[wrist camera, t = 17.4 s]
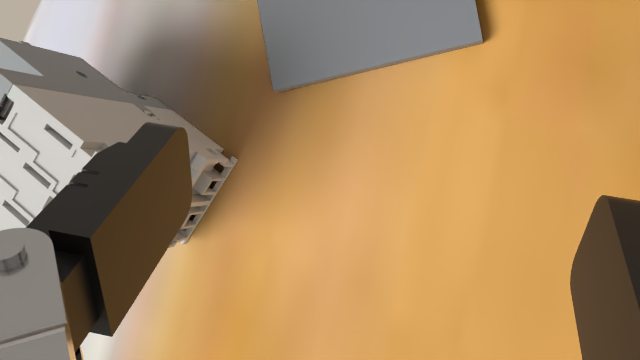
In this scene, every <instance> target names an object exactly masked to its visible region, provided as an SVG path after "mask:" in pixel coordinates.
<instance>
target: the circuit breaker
mask: <svg viewBox="0 0 640 360" xmlns="http://www.w3.org/2000/svg"><path fill="white" fill-rule="evenodd" d="M146 122H152V123H158V124H165V125H171V126H177V127H183V128H184V129H185V130H186V132H187V135H188V144H189V155H190V167H191V178H192V202H191V207H190V210H189V213H188V216H187V218H186V220H185V221H184V223H183V225H182V226H181V228H180V229H179V231H178V232H177V234H176V236H175V237H174V239H173V240H172V242H171V244H170V245H169V247H168V248H170V247H174V246H175V244H176V243H177V242H180V243H182V244H186V242H187V240H188V239H189V237H190V236H191V234H192V232H193V231H194V229H195V228H196V226H197V225H198V223H199V221H200V220H201V218H202V217H203V215H204V213H205V212H206V210H207V209H208V207H209V205H210V204H211V202H212V201H213V199H214V197H215V196H216V194H217V193H218V191H219V190H220V188H221V186H222V185H223V183H224V182H225V180H226V178H227V177H228V175H229V174H230V172H231V170H232V169H233V167H234V166H235V164H236V162H237V161H238V160H237V159H236V158H235V157H231V158H230V160H229V159H228V158H226V157H225V156H224V155H222V152H223V150H224V149H223V148H222V147H220V146H219V145H218V144H216V143H215V142H214V141H212V140H211V139H210V138H208V137H207V136H206V135H204V134H203V133H202V132H200V131H199V130H198V129H196V128H195V127H194V126H193V125H191V124H190V123H189V122H187V121H186V120H185V119H183V118H182V117H181V116H179V115H178V114H177V113H175V112H174V111H173V110H171V109H170V108H169V107H167V106H166V105H165V104H163V103H162V102H161V101H159V100H158V99H157V98H155V97H150V96H144V95H140V97H139V98H138V97H137V96H136V94H134V93H129V92H125V91H123V90H122V89H121V88H120V87H118V86H117V85H116V84H114V83H113V82H112V81H110V80H109V79H108V78H106V77H105V76H104V75H103V74H101V73H100V72H99V71H97V70H96V69H95V68H93V67H92V66H91V65H89V64H88V63H87V62H85V61H84V60H83V59H81V58H79V57H75V56H71V55H67V54H63V53H59V52H55V51H51V50H47V49H43V48H39V47H35V46H32V45H30V44H29V43H27V42H23V41H19V42H15V41H11V40H7V39H3V38H0V231H2V230H6V229H12V228H26V227H27V226H28V225H29V224H30V223H31V222H32V220H33V219H34V218H35V217H36V216H37V215H38V214H39V213H40V212H41V211H42V210H43V209H44V208H45V207H46V206H47V205H48V204H49V203H50V202H51V201H52V200H53V198H54V197H55V196H56V195H57V194H58V193H59V192H60V191H61V190H62V189H63V188H64V187H65V186H66V185H69V184H70V181H71V180H72V179H73V177H74V176H75V175H76V174H77V173H78V172H81V171H82V168H83V167H84V166H85V165H86V164H87V163H88V162H89V161H90V160H91V159H92V158H93V157H94V155H95V154H96V153H98V152H100V151H102V150H104V149H106V148H108V147H110V146H112V145H113V144H115V143H117V142H124V143H127V142H128V141H129V140H130V139H131V138H132V136H133V135H134V134H135V133H136V132H137V131H138V130H139V129H140V128H141V126H142V125H143V124H144V123H146ZM218 163H220V164H221V165H222V166H223V167H225V168H224V170H223V171H222V173H220V172H218V171H217V170H215V169H214V168H213V167H214V166H215V164H218ZM212 181H217V183H216V184H215V186H214V187H213V189H211V188H209V186H210V184H211V183H212ZM205 195H207V197H206V196H205ZM199 206H200V207H199ZM196 214H197V215H196ZM191 215H196V216H195V218H194V219H193V221H191V220H189V218H190V216H191ZM185 228H187V229H185Z"/></svg>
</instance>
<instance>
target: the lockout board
mask: <svg viewBox="0 0 640 360" xmlns="http://www.w3.org/2000/svg"><path fill="white" fill-rule="evenodd" d="M257 2H258V8H259V13H260V19H261V25H262V30H263V36H264V42H265V47H266V53H267V59H268V65H269V70H270V76H271V82H272V87H273V91H275V92H282V91H287V90H291V89H295V88H299V87H303V86H307V85H312V84H316V83H320V82H324V81H328V80H332V79H337V78H341V77H345V76H349V75H353V74H357V73H362V72H366V71H370V70H374V69H378V68H382V67H387V66H391V65H395V64H399V63H403V62H407V61H412V60H416V59H420V58H424V57H428V56H432V55H436V54H441V53H445V52H449V51H453V50H457V49H461V48H466V47H470V46H474V45H478V44H482V43H483V38H482V33H481V28H480V22H479V17H478V12H477V6H476V1H475V0H257Z"/></svg>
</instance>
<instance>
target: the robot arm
mask: <svg viewBox="0 0 640 360" xmlns="http://www.w3.org/2000/svg"><path fill="white" fill-rule="evenodd" d="M191 202H192V178H191V167H190V155H189V144H188V135H187V132H186V130H185V129H184V128H183V127H177V126H171V125H165V124H158V123H152V122H146V123H144V124H143V125H142V126H141V128H140V129H139V130H138V131H137V132H136V133H135V134H134V135H133V136H132V138H131V139H130V140H129V141H128V142H127V143H124V142H117V143H115V144H113V145H112V146H110V147H108V148H106V149H104V150H102V151H100V152H98V153H96V154H95V155H94V157H93V158H92V159H91V160H90V161H89V162H88V163H87V164H86V165H85V166H84V167H83V168H82V171H81V172H78V173H77V174H76V175H75V176H74V177H73V179H72V180H71V181H70V184H69V185H66V186H65V187H64V188H63V189H62V190H61V191H60V192H59V193H58V194H57V195H56V196H55V197H54V198H53V200H52V201H51V202H50V203H49V204H48V205H47V206H46V207H45V208H44V209H43V210H42V211H41V212H40V213H39V214H38V215H37V216H36V217H35V218H34V219H33V220H32V222H31V223H30V224H29V225H28V226H27V227H26V228H12V229H6V230H2V231H0V360H83V354H82V351H81V347H80V345H81V344H82V342H83V341H84V339H85V338H86V336H87V335H88V333H89V332H92V333H97V334H101V335H106V336H111V337H112V336H113V334H114V333H115V331H116V330H117V328H118V326H119V325H120V323H121V322H122V320H123V318H124V317H125V315H126V314H127V312H128V310H129V309H130V307H131V306H132V304H133V303H134V301H135V299H136V298H137V296H138V295H139V293H140V291H141V290H142V288H143V287H144V285H145V283H146V282H147V280H148V279H149V277H150V275H151V274H152V272H153V271H154V269H155V267H156V266H157V264H158V263H159V261H160V260H161V258H162V256H163V255H164V253H165V252H166V250H167V248H168V247H169V245H170V244H171V242H172V240H173V239H174V237H175V236H176V234H177V232H178V231H179V229H180V228H181V226H182V225H183V223H184V221H185V220H186V218H187V216H188V213H189V210H190V207H191ZM570 287H571V295H572V301H573V306H574V312H575V318H576V324H577V330H578V336H579V342H580V347H581V353H582V359H583V360H640V201H637V200H631V199H624V198H618V197H612V196H606V195H602V196H601V197H600V198H599V199H598V200H597V202H596V204H595V207H594V209H593V212H592V214H591V217H590V219H589V222H588V224H587V227H586V229H585V232H584V234H583V237H582V239H581V242H580V244H579V247H578V250H577V252H576V255H575V257H574V261H573V265H572V270H571V279H570Z"/></svg>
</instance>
